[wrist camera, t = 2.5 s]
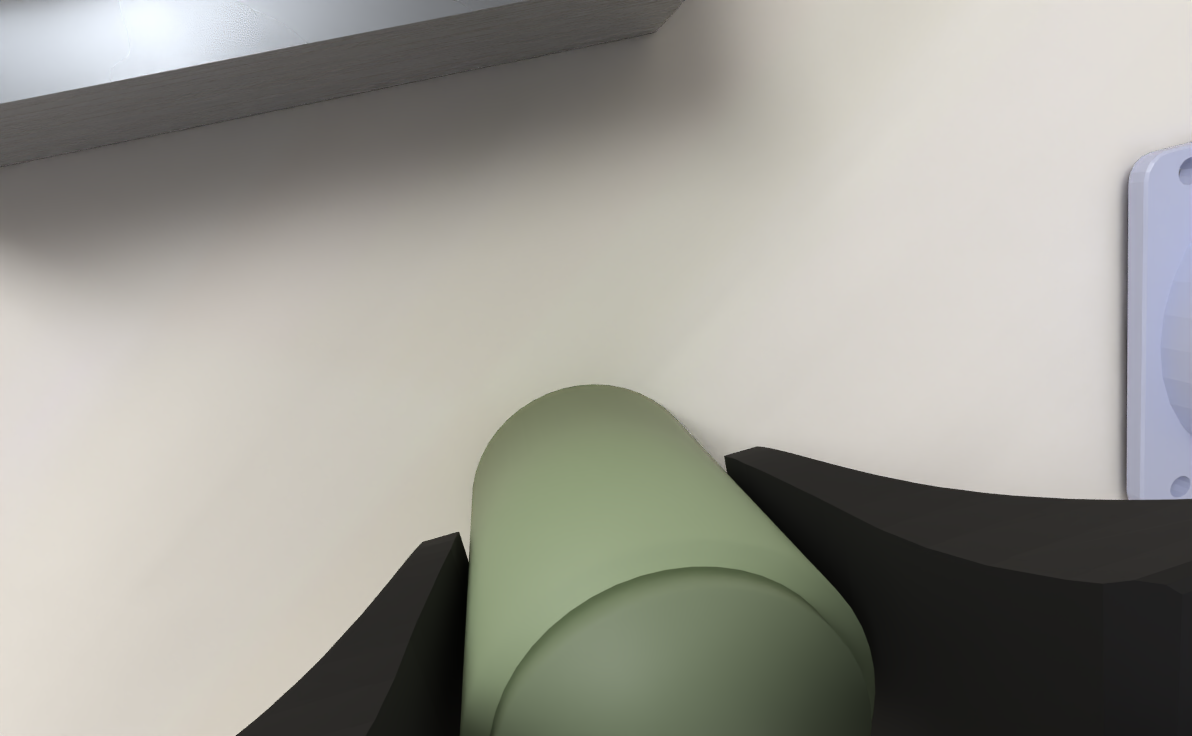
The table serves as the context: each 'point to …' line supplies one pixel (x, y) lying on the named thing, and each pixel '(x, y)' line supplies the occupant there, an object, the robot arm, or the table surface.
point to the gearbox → (256, 57)
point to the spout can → (643, 590)
